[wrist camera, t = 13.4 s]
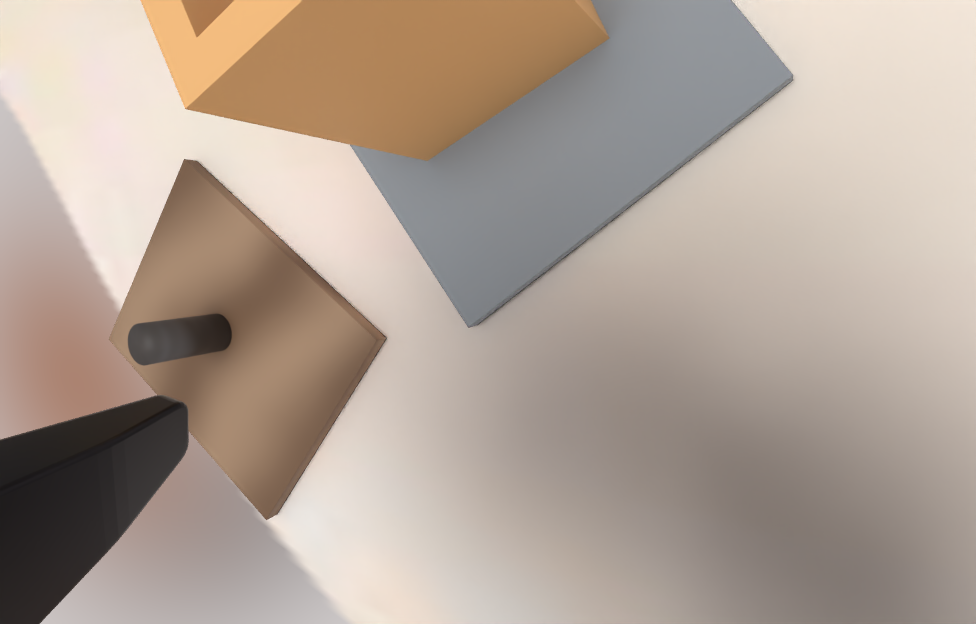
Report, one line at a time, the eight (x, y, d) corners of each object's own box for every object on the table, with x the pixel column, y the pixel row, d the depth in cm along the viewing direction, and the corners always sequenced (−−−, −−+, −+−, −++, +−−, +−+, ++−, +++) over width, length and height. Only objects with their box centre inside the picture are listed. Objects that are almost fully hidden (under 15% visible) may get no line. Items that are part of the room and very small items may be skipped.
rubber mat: (793, 80, 17) (792, 74, 16) (476, 325, 22) (468, 327, 21) (508, -267, 19) (500, -281, 19) (281, 25, 24) (269, 21, 24)
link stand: (386, 338, 24) (311, 356, 20) (276, 514, 27) (195, 557, 23) (196, 160, 27) (102, 148, 23) (120, 337, 31) (28, 351, 27)
